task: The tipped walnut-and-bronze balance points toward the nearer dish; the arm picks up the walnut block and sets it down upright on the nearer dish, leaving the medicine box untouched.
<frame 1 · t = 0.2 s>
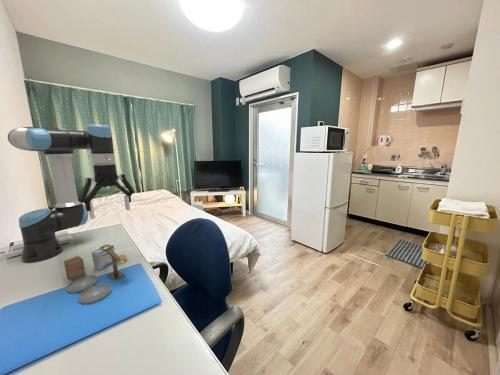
hand: (111, 213, 89), 27 cm above the table, fingers open, 13 cm apart
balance: (116, 276, 90), on the table
block: (76, 276, 90), on the table
dish 2: (95, 294, 79), on the table
dish 1: (82, 284, 85), on the table
medicine box: (105, 265, 99), on the table
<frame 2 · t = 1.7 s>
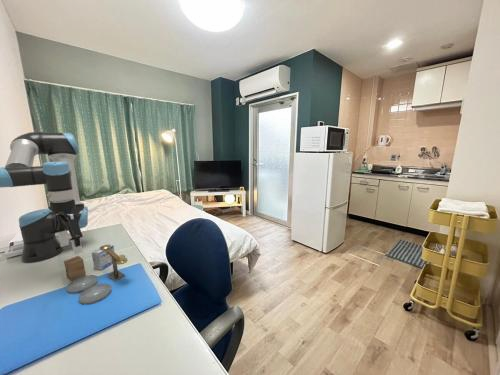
hand: (71, 249, 87), 13 cm above the table, fingers open, 13 cm apart
nothing on the table moved.
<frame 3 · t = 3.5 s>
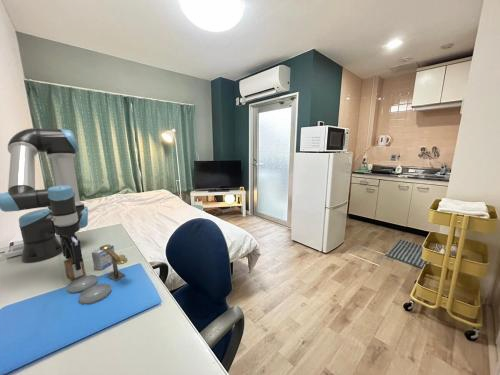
hand: (75, 273, 90), 1 cm above the table, fingers closed on block, 5 cm apart
block: (76, 276, 90), on the table, touching gripper
everything else where it was.
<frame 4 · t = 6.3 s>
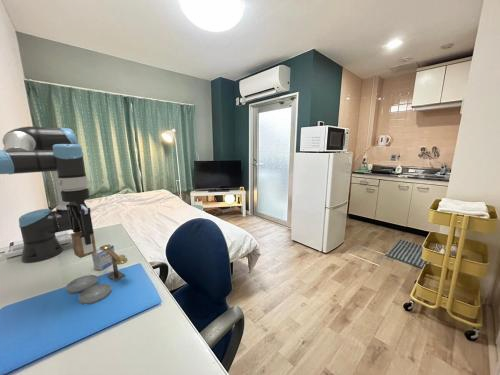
hand: (85, 250, 77), 18 cm above the table, fingers closed on block, 5 cm apart
block: (85, 253, 77), point 17 cm above the table, touching gripper
everything else where it was.
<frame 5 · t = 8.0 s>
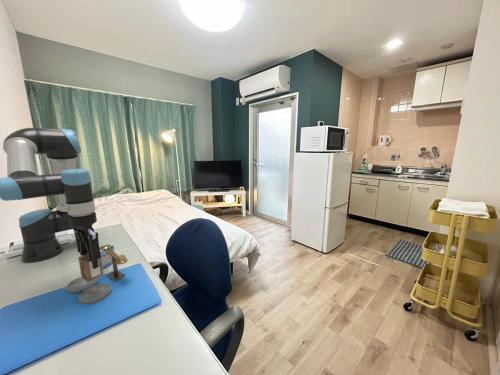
hand: (92, 272, 77), 9 cm above the table, fingers closed on block, 5 cm apart
block: (92, 275, 78), point 8 cm above the table, touching gripper
everything else where it was.
when the fingers open (3 cm above the table, at t = 9.4 s): block stays where it is, resting on dish 2.
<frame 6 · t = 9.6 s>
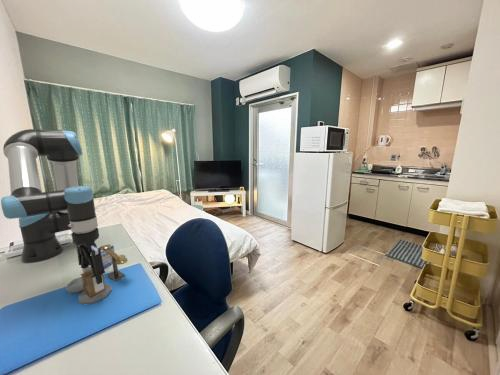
hand: (94, 286, 79), 4 cm above the table, fingers open, 7 cm apart
block: (95, 291, 79), point 1 cm above the table, touching dish 2
everything else where it was.
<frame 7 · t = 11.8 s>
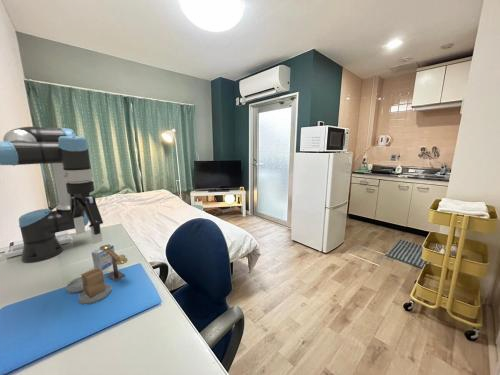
hand: (88, 237, 77), 22 cm above the table, fingers open, 13 cm apart
nothing on the table moved.
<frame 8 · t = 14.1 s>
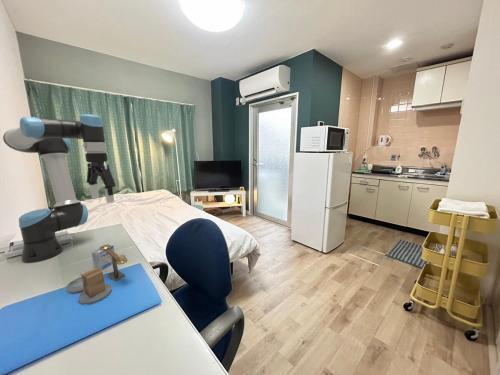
hand: (102, 200, 93), 32 cm above the table, fingers open, 13 cm apart
nothing on the table moved.
at the end: block 0.1 cm from the dish 2 (horizontally); block tilted 0°; block touching dish 2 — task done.
